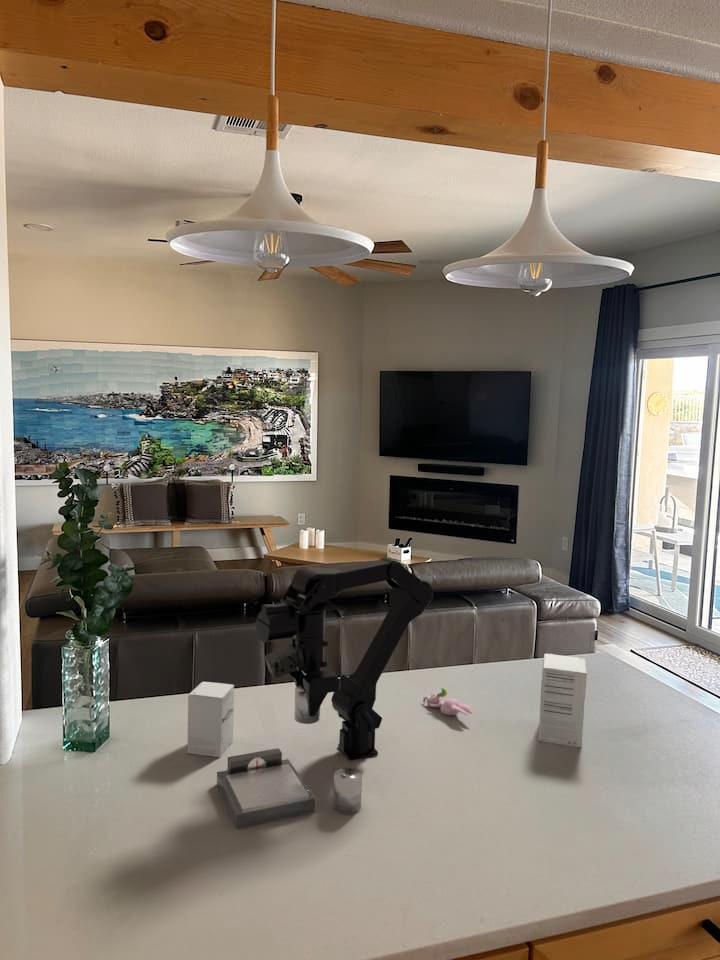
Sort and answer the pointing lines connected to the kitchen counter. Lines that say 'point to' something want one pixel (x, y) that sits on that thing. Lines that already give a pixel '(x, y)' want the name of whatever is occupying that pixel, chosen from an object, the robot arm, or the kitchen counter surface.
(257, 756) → the dial scale
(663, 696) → the kitchen counter surface
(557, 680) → the supplement box
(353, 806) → the cylinder
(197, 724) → the supplement box
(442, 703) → the rabbit figure
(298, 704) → the cylinder
